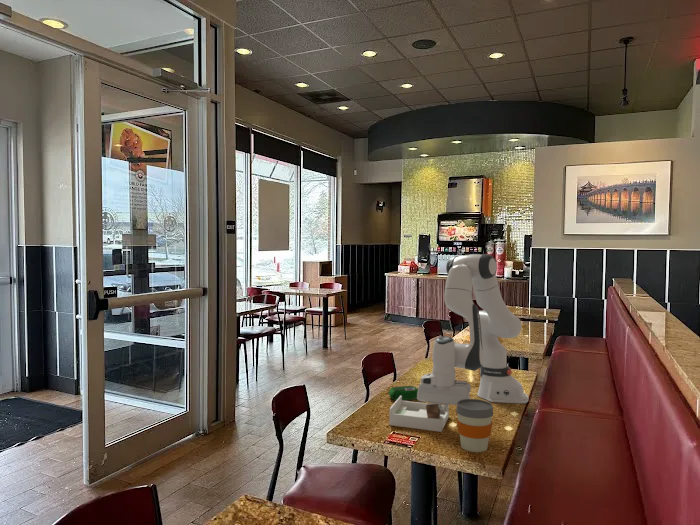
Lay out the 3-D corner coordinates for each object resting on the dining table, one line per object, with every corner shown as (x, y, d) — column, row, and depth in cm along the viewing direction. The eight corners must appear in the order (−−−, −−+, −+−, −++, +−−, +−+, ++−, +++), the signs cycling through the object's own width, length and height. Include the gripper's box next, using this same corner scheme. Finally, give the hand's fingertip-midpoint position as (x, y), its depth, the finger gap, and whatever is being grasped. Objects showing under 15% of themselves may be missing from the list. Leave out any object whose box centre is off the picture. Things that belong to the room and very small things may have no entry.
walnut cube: (440, 413, 202) (439, 402, 202) (438, 417, 198) (437, 405, 198) (429, 414, 204) (427, 402, 204) (427, 417, 199) (425, 406, 199)
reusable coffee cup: (451, 440, 184) (452, 399, 183) (485, 439, 185) (486, 398, 184) (461, 454, 171) (462, 410, 171) (498, 454, 172) (498, 410, 171)
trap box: (448, 416, 208) (448, 401, 208) (441, 431, 192) (441, 414, 191) (400, 410, 215) (400, 395, 214) (389, 425, 198) (389, 408, 198)
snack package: (424, 400, 230) (424, 388, 229) (390, 401, 227) (390, 390, 227) (419, 395, 237) (419, 384, 236) (386, 397, 234) (386, 385, 234)
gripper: (471, 379, 199) (470, 414, 199) (419, 374, 205) (418, 408, 206) (470, 383, 193) (469, 420, 193) (416, 378, 199) (415, 413, 200)
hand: (442, 414), depth 199 cm, fingers closed
